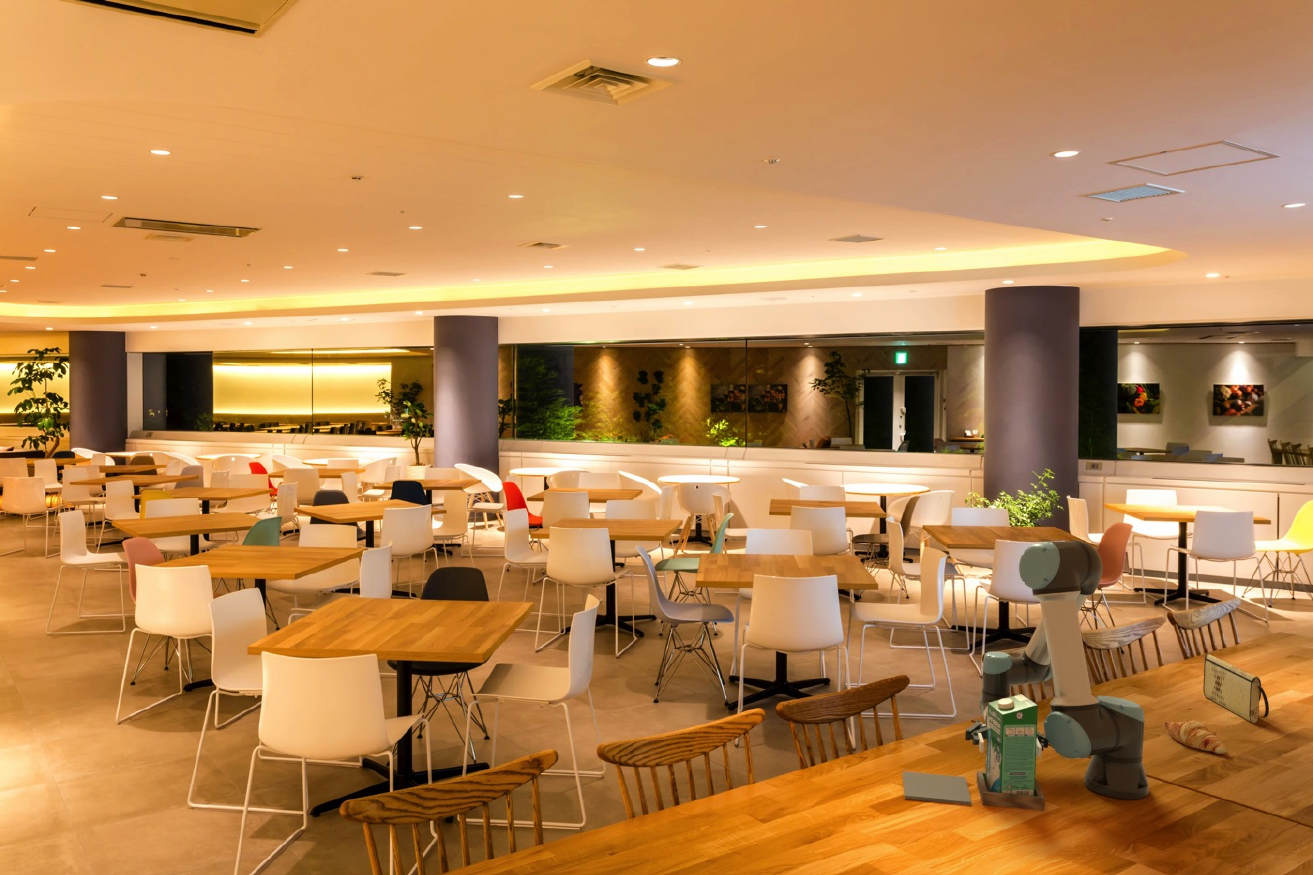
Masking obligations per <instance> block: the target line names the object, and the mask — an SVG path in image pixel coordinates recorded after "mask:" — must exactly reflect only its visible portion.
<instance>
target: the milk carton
mask: <svg viewBox="0 0 1313 875" xmlns="http://www.w3.org/2000/svg"><path fill="white" fill-rule="evenodd" d="M1038 712H1039V706H1038V704H1037V703H1035V702H1034V701H1033V700H1031V699H1029V698H1028V697H1026V696H1025V695H1023V694H1022V693H1020V694H1017V695H1016V694H1015V695H1013V696H1010V697H1008V698H1003V699H1000V700H997V701H993V702H990V703H988V712H987V739H986V745H985V746H986V747H985V748H986V749H985V752H986V753H985V772H986V773H985V784H986V787H987V791H988V792H997V793H1008V794H1018V795H1029V796H1035V777H1036V769H1037V768H1036V766H1037V755H1036V744H1037V732H1038V714H1039V713H1038Z"/></svg>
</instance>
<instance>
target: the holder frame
mask: <svg viewBox="0 0 1313 875" xmlns="http://www.w3.org/2000/svg"><path fill="white" fill-rule="evenodd" d="M985 773H986V771H981V770H976V785H978V786H977V789H978V793H979V795H980V800H981V803H982V806H990V807H992V806H993V807H999V808H1000V807H1001V808H1010V809H1021V810H1031V811H1032V810H1033V811H1042V812H1045V809H1046V808H1045V806H1046V805H1045V802H1046V801H1045V800H1046V799H1045V795H1044V794H1043V791H1042V790H1041V787H1040V784H1039V783H1038V780H1037V777H1036V776H1035V796H1029V795H1018V794H1008V793H997V792H988V791H987V787H986V784H985Z"/></svg>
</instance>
